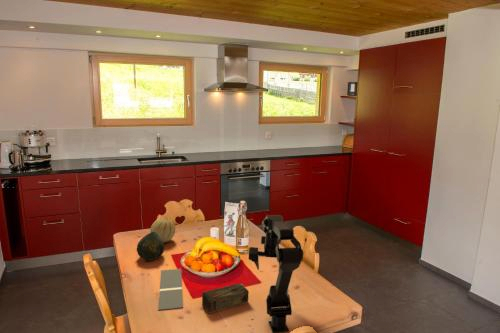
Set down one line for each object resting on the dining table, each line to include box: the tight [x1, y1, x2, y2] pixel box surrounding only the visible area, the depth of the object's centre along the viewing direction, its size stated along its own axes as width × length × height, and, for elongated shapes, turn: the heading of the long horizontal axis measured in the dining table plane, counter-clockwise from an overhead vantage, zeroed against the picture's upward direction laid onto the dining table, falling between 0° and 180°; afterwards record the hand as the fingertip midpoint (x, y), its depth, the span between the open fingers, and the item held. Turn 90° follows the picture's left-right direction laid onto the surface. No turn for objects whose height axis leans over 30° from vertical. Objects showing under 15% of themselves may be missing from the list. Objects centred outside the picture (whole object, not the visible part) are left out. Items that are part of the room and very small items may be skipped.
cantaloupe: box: [149, 217, 176, 244], centre depth 208 cm, size 15×15×15 cm
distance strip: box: [157, 268, 184, 311], centre depth 158 cm, size 34×10×1 cm, turn 13°
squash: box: [136, 232, 165, 262], centre depth 187 cm, size 14×15×15 cm
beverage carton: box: [201, 282, 249, 314], centre depth 146 cm, size 8×19×7 cm, turn 119°
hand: (268, 270), depth 151 cm, fingers open, 9 cm apart
